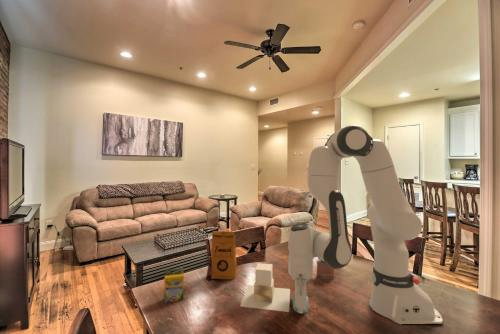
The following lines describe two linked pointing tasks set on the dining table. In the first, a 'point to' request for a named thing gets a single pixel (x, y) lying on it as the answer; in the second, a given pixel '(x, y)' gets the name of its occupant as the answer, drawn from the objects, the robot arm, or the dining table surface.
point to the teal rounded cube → (297, 308)
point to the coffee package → (223, 255)
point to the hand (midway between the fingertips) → (300, 306)
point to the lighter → (324, 270)
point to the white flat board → (278, 304)
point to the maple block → (264, 292)
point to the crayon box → (174, 285)
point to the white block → (264, 274)
